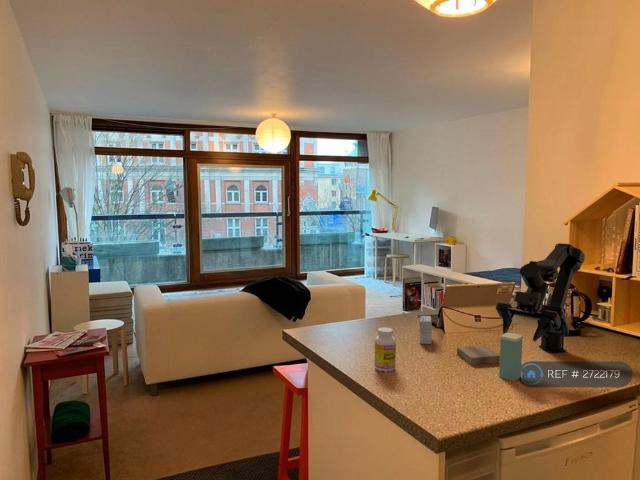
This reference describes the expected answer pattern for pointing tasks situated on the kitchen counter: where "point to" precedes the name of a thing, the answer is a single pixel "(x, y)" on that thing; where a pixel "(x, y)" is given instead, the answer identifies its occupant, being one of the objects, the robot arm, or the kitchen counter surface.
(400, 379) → the kitchen counter surface
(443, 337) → the kitchen counter surface
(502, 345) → the tea tin
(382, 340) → the supplement bottle
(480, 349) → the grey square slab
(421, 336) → the medicine box
